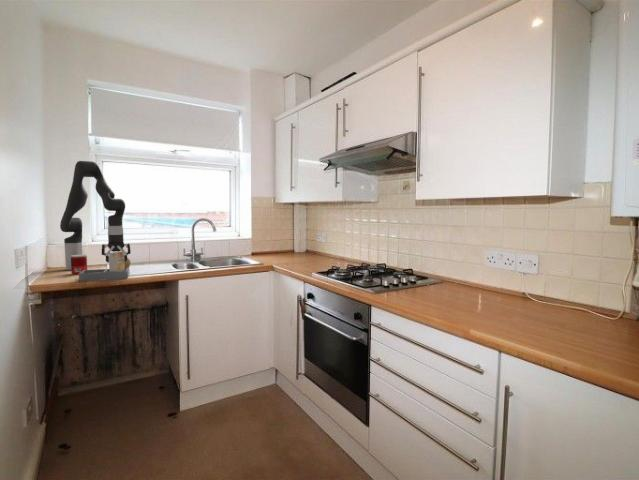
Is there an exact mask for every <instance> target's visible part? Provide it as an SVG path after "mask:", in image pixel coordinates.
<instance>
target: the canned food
mask: <svg viewBox="0 0 639 480" xmlns="http://www.w3.org/2000/svg"><path fill="white" fill-rule="evenodd" d="M83 270H88V256H87V254H82V255H72V256H71V270H70V271H71V274H72V275H74V276H76V275H77V274H78V275H79V273H80V272H82V271H83Z"/></svg>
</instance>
